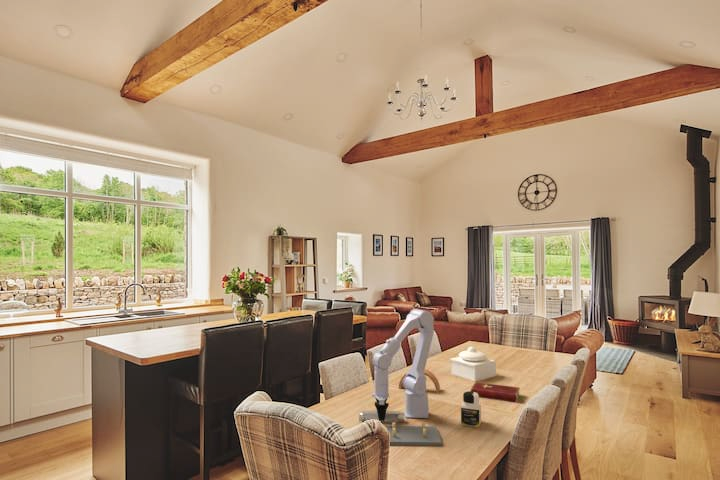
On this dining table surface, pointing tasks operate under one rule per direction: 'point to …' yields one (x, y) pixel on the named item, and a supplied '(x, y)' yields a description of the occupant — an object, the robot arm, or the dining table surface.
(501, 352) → the dining table surface
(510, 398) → the hardcover book
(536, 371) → the dining table surface
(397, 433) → the tool rest
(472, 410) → the medicine bottle
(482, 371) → the butter dish
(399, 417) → the spanner bar
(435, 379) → the arch
